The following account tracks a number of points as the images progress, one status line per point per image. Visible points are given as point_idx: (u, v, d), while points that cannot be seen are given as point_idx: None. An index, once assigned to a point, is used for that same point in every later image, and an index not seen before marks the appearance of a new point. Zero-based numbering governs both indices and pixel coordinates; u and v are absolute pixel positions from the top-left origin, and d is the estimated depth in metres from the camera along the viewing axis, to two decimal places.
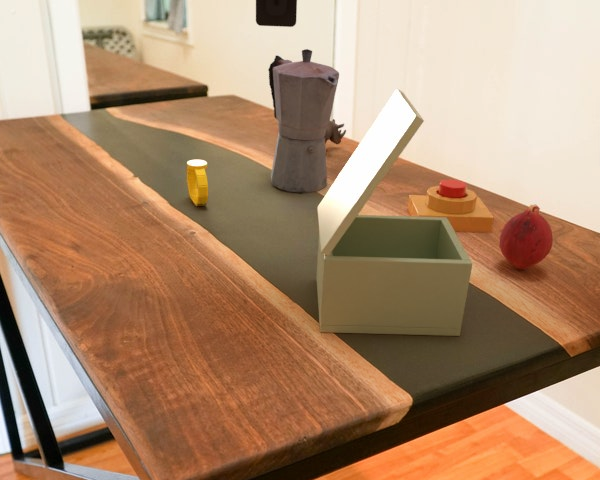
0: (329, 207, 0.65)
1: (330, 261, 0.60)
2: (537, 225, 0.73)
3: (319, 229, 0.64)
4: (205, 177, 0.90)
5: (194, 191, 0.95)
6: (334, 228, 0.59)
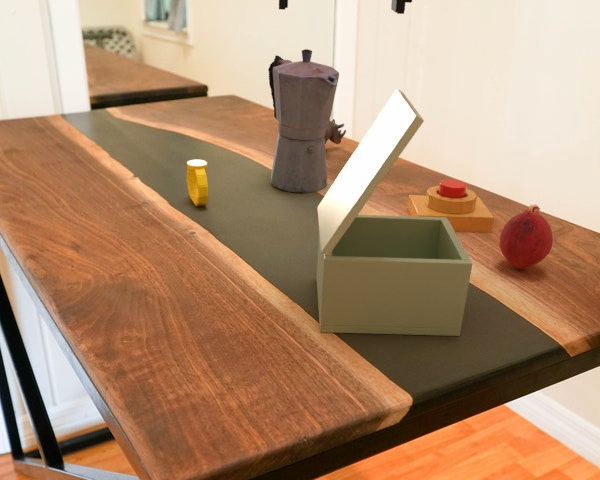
0: (329, 207, 0.65)
1: (330, 261, 0.60)
2: (537, 225, 0.73)
3: (319, 229, 0.64)
4: (205, 177, 0.90)
5: (194, 191, 0.95)
6: (334, 228, 0.59)
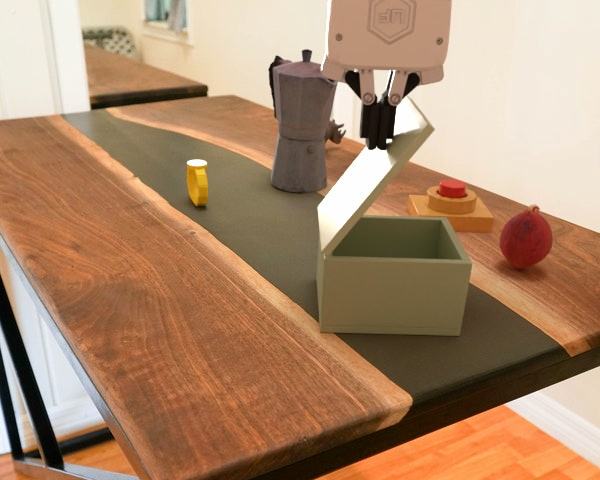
0: (331, 208, 0.65)
1: (330, 261, 0.60)
2: (537, 225, 0.73)
3: (319, 229, 0.64)
4: (205, 177, 0.90)
5: (194, 191, 0.95)
6: (336, 229, 0.59)
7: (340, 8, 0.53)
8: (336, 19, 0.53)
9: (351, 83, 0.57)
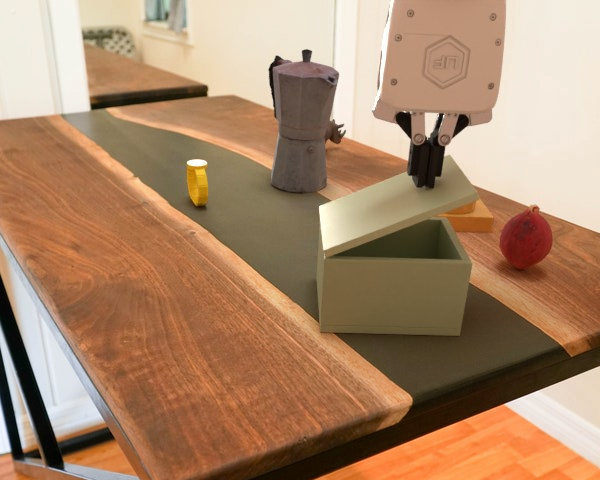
0: (339, 214, 0.65)
1: (330, 261, 0.60)
2: (537, 225, 0.73)
3: (321, 228, 0.64)
4: (205, 177, 0.90)
5: (194, 191, 0.95)
6: (346, 237, 0.60)
7: (396, 55, 0.54)
8: (392, 65, 0.55)
9: (402, 123, 0.59)
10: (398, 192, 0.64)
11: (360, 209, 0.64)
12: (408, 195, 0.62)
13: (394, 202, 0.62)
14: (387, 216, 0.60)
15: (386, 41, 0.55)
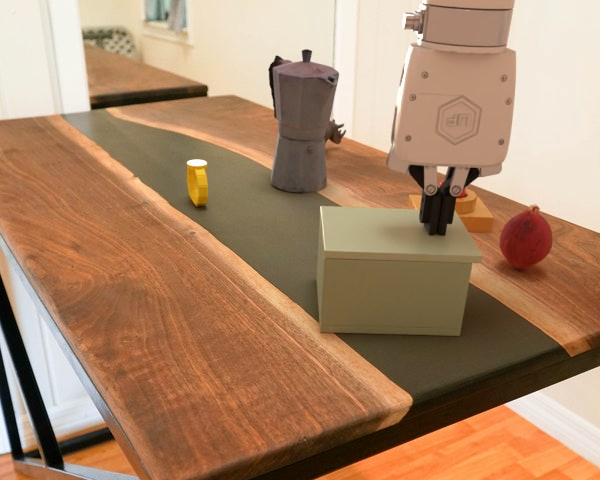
0: (342, 222, 0.65)
1: (330, 261, 0.60)
2: (537, 225, 0.73)
3: (323, 228, 0.64)
4: (205, 177, 0.90)
5: (194, 191, 0.95)
6: (349, 247, 0.60)
7: (410, 113, 0.57)
8: (406, 122, 0.57)
9: (415, 175, 0.61)
10: (404, 225, 0.65)
11: (364, 226, 0.65)
12: (414, 232, 0.64)
13: (399, 233, 0.64)
14: (392, 243, 0.61)
15: (401, 99, 0.57)
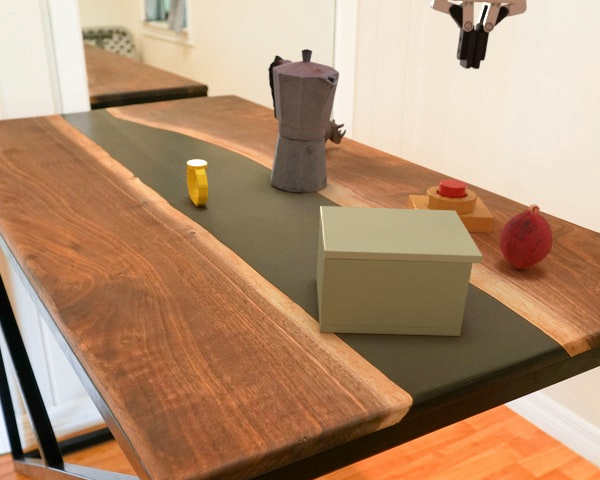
0: (342, 222, 0.65)
1: (330, 261, 0.60)
2: (537, 225, 0.73)
3: (323, 228, 0.64)
4: (205, 177, 0.90)
5: (194, 191, 0.95)
6: (349, 247, 0.60)
7: None
8: None
9: (455, 14, 0.74)
10: (404, 225, 0.65)
11: (364, 226, 0.65)
12: (414, 232, 0.64)
13: (399, 233, 0.64)
14: (392, 243, 0.61)
15: None
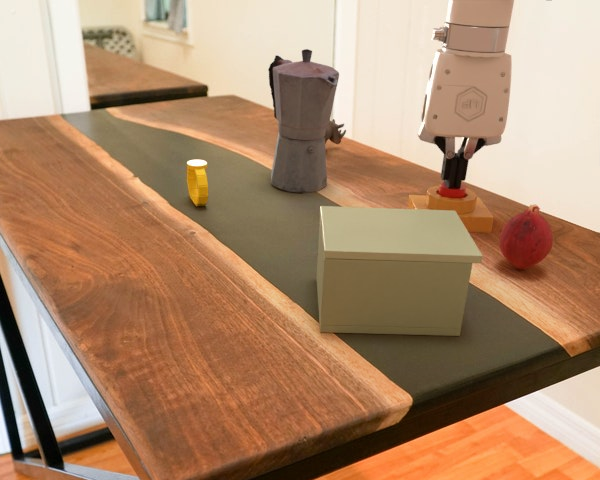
0: (342, 222, 0.65)
1: (330, 261, 0.60)
2: (537, 225, 0.73)
3: (323, 228, 0.64)
4: (205, 177, 0.90)
5: (194, 191, 0.95)
6: (349, 247, 0.60)
7: (437, 98, 0.81)
8: (434, 105, 0.81)
9: (439, 144, 0.85)
10: (404, 225, 0.65)
11: (364, 226, 0.65)
12: (414, 232, 0.64)
13: (399, 233, 0.64)
14: (392, 243, 0.61)
15: (430, 89, 0.81)
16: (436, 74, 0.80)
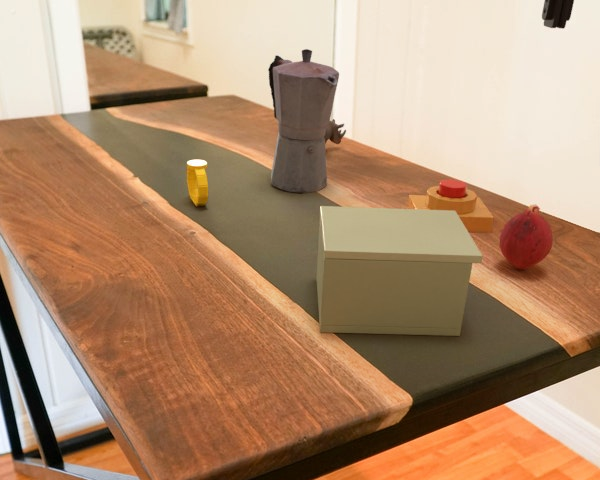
0: (342, 222, 0.65)
1: (330, 261, 0.60)
2: (537, 225, 0.73)
3: (323, 228, 0.64)
4: (205, 177, 0.90)
5: (194, 191, 0.95)
6: (349, 247, 0.60)
7: None
8: None
9: None
10: (404, 225, 0.65)
11: (364, 226, 0.65)
12: (414, 232, 0.64)
13: (399, 233, 0.64)
14: (392, 243, 0.61)
15: None
16: None
